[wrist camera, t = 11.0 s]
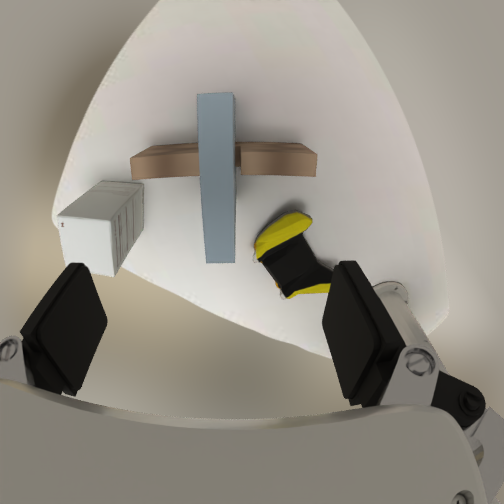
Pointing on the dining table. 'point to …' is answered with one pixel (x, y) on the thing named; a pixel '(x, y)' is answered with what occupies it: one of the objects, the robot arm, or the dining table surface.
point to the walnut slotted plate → (246, 156)
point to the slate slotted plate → (217, 174)
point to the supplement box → (102, 226)
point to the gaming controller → (291, 256)
